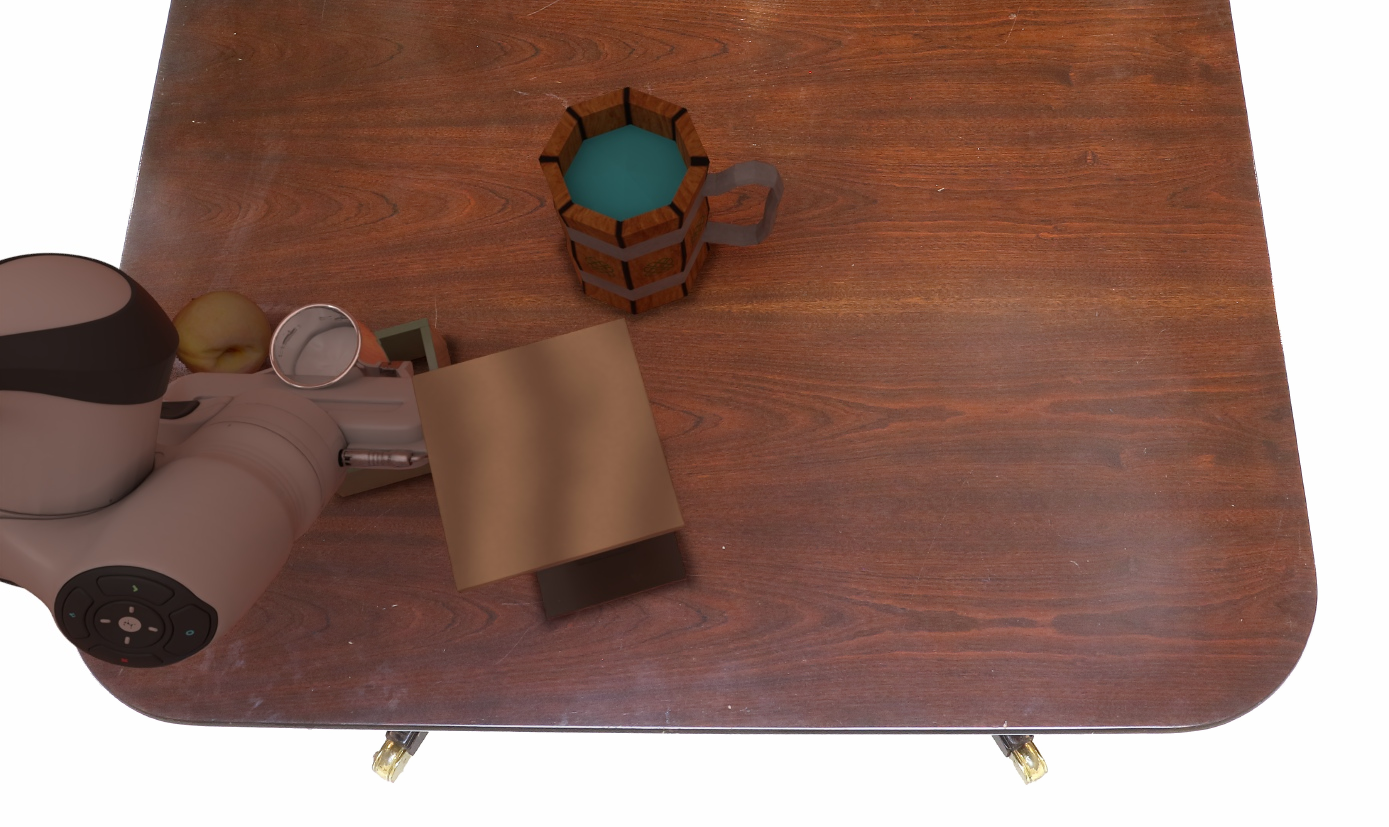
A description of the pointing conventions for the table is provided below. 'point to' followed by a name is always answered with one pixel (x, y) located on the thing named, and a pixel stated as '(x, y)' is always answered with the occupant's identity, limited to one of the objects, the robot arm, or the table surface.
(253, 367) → the fruit
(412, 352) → the holder
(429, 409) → the square wooden board
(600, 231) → the mug
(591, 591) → the stand post
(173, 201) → the table surface
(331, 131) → the table surface
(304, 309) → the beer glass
